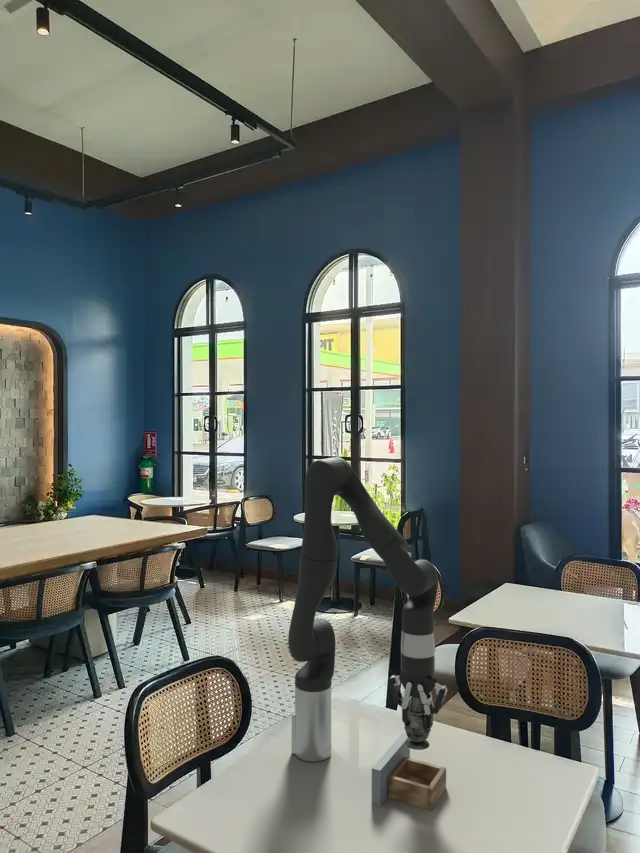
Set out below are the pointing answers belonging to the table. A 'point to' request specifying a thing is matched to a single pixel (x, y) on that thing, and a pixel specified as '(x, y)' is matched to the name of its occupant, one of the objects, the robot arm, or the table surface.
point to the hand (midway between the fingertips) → (417, 726)
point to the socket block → (417, 783)
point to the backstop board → (387, 768)
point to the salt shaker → (417, 726)
